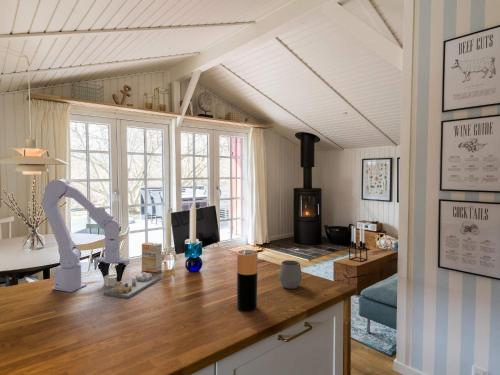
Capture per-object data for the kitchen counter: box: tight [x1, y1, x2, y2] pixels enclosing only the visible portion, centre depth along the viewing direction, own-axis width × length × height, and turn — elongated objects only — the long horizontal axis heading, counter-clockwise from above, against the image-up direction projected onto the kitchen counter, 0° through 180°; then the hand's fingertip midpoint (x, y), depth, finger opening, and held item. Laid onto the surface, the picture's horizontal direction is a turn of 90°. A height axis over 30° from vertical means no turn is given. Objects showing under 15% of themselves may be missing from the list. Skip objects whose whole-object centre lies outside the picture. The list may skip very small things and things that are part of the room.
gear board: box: [103, 271, 162, 299], centre depth 133 cm, size 11×22×4 cm, turn 163°
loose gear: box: [103, 272, 122, 287], centre depth 136 cm, size 5×7×4 cm
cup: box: [278, 259, 303, 290], centre depth 134 cm, size 10×9×10 cm
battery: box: [236, 249, 259, 312], centre depth 113 cm, size 7×7×20 cm
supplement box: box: [141, 241, 163, 273], centre depth 153 cm, size 8×5×13 cm, turn 73°
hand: (112, 280), depth 136 cm, fingers closed on loose gear, 5 cm apart
